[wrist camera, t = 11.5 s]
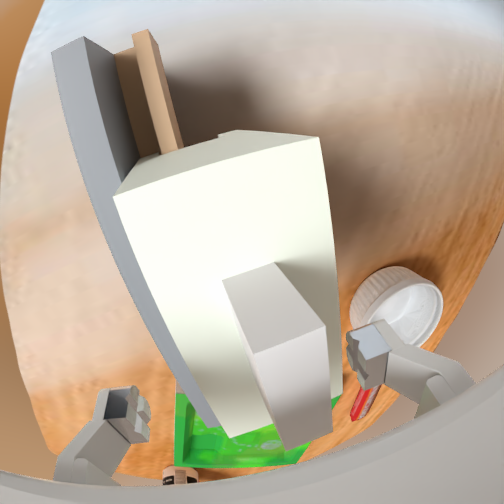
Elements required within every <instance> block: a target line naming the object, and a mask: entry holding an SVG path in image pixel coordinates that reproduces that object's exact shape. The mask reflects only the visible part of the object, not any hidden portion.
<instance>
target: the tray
mask: <svg viewBox="0 0 504 504" xmlns="http://www.w3.org/2000/svg"><path fill="white" fill-rule="evenodd" d="M340 396H341V395H339V396H337V397H335V398H332V399H331V405H332V409H333V408H334V406H335V404H336V403H337V401H338V399H339V398H340ZM310 443H311V442H308V443H306V444H303V445H301V446H299V447H296V448H294V449H291V450H288V451H286V450H285V448H284V446H283V444H282V441H281V439H280V437H279V435H278V432H277V430H276V428H275V426H274V423H273V424H270V425H267V426H265V427H262V428H259V429H256V430H253V431H250V432H247V433H244V434H241V435H238V436H235V437H232V438H229V437H228V435H227V434H226V432H225V430H224V429H223V427H222V426H217V427H212V428H207V426H206V425H205V423H204V422H203V421H202V419H201V418H200V416H199V415H198V413H197V411H196V410H195V408H194V407H193V405H192V404H191V402H190V401H189V399H188V398H187V396H186V394H185V393H184V391H183V390H182V388H181V386H180V385H179V383H178V381H177V380H176V393H175V421H174V466H176V467H195V468H246V467H265V466H277V465H288V464H296V463H297V461H298V460H299V459H300V457H301V456H302V454H303V453H304V452H305V450H306V449H307V447H308V446H309V444H310Z"/></svg>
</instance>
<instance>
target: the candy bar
mask: <svg viewBox="0 0 504 504" xmlns="http://www.w3.org/2000/svg"><path fill="white" fill-rule="evenodd" d="M381 385H382V384H381ZM381 385H379V386H376V387H374V388H371V389H368V390H366V391H364V390H363V388H362V386H361V388H360V391H359V393H358V396H357V398H356V400H355V403H354V405H353V407H352V410H351V413H350V416H351V420H352V422H353V421H356V420H359V419H361V418H363V417H364V416H366V415H367V413H368V412H369V410H370V408H371V406H372V404H373V402H374V400H375V398H376V396H377V394H378V391H379V389H380V387H381Z"/></svg>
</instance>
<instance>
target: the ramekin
mask: <svg viewBox="0 0 504 504" xmlns="http://www.w3.org/2000/svg"><path fill="white" fill-rule="evenodd" d="M442 310H443V297H442V294H441V291H440V290H439V289H438V287H437V286H436V285H435V284H434V283H432V282H431V281H429V280H427V279H424V278H422V277H421V276H419V275H418V274H416V273H415V272H413V271H411V270H409V269H408V268H405V267H402V266H392V267H387V268H384V269H381V270H379V271H377V272H375V273H373V274H372V275H370V276H369V277H368V278H367V279H366V280H364V282H363V283H362V284H361V285H360V286H359V288H358V289H357V291H356V292H355V294H354V297H353V299H352V301H351V305H350V312H349V313H350V321H351V325H352V327H353V330H354V329H356V328H359V327H362V326H364V325H367V324H371V323H373V322H375V321H378V320H380V319H385V320H386V321H387V323H388V324H389V325H390V326H391V328H392V329H393V330H394V332H395V333H396V334H397V335H398V337H399V338H400V339H401V341H402V342H403V343H404V344H405V345H406V344H411V345H413V346H416V347H420V346H421V345H422V344H423V343H424V342H425V341H426V340H427V339H428V338H429V337H430V335H431V334H432V333H433V331H434V330H435V328H436V326H437V324H438V322H439V320H440V317H441V314H442Z"/></svg>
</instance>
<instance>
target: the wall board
mask: <svg viewBox="0 0 504 504" xmlns="http://www.w3.org/2000/svg"><path fill="white" fill-rule="evenodd" d="M132 39H133V43H134V47H133V48H130V49H127V50H125V51H122V52H119V53H117V54H114V55H113V54H112V53H110V52H109V51H107V50H105V49H104V48H102V47H101V46H99V45H97V44H96V43H94V42H92V41H91V40H89V39H87V38H86V37H84V36H83V37H81V38H78V39H76V40H74V41H72V42H70V43H68V44H66V45H64V46H62V47H60V48H58V49H56V50H55V51H53V52H51V55H52V61H53V66H54V72H55V77H56V82H57V86H58V91H59V95H60V100H61V104H62V108H63V112H64V116H65V120H66V124H67V128H68V131H69V135H70V138H71V142H72V145H73V149H74V152H75V155H76V159H77V162H78V165H79V168H80V171H81V174H82V177H83V180H84V183H85V186H86V189H87V192H88V195H89V197H90V200H91V203H92V206H93V208H94V211H95V214H96V216H97V219H98V221H99V224H100V227H101V229H102V232H103V234H104V236H105V239H106V241H107V244H108V246H109V248H110V251H111V253H112V256H113V258H114V260H115V262H116V265H117V267H118V269H119V271H120V274H121V276H122V278H123V280H124V282H125V284H126V286H127V289H128V291H129V293H130V295H131V297H132V299H133V301H134V303H135V305H136V307H137V309H138V311H139V313H140V315H141V317H142V319H143V321H144V323H145V325H146V327H147V329H148V330H149V332H150V334H151V336H152V338H153V340H154V342H155V343H156V345H157V347H158V349H159V351H160V352H161V354H162V356H163V358H164V359H165V361H166V363H167V365H168V366H169V368H170V370H171V371H172V373H173V375H174V376H175V378H176V380H177V381H178V383H179V385H180V386H181V388H182V390H183V391H184V393H185V394H186V396H187V398H188V399H189V401H190V402H191V404H192V405H193V407H194V408H195V410H196V411H197V413H198V415H199V416H200V418H201V419H202V421H203V422H204V423H205V425H206V426H207V428H212V427H217V426H221V424H220V422H219V421H218V419H217V417H216V416H215V414H214V412H213V411H212V409H211V407H210V406H209V404H208V402H207V401H206V399H205V397H204V395H203V394H202V392H201V390H200V388H199V387H198V385H197V383H196V381H195V379H194V378H193V376H192V374H191V372H190V370H189V368H188V367H187V365H186V363H185V361H184V359H183V357H182V355H181V353H180V351H179V349H178V347H177V346H176V344H175V342H174V340H173V338H172V336H171V334H170V332H169V330H168V328H167V326H166V323H165V321H164V319H163V317H162V315H161V313H160V311H159V309H158V307H157V304H156V302H155V300H154V298H153V296H152V294H151V291H150V289H149V287H148V285H147V282H146V280H145V278H144V276H143V273H142V271H141V269H140V266H139V264H138V261H137V259H136V257H135V254H134V252H133V249H132V247H131V244H130V242H129V239H128V237H127V234H126V232H125V229H124V226H123V224H122V221H121V218H120V216H119V213H118V210H117V207H116V205H115V202H114V199H113V196H114V194H115V193H116V191H117V190H118V188H119V187H120V185H121V184H122V182H123V181H124V180H125V178H126V177H127V175H128V174H129V172H130V171H131V170H132V168H133V167H134V166H135V164H136V163H137V161H138V160H139V159H140V158H143V157H146V156H149V155H152V154H155V153H158V152H159V154H160V155H163V154H166V153H169V152H172V151H175V150H178V149H182V148H184V145H183V141H182V138H181V134H180V130H179V126H178V123H177V119H176V115H175V111H174V107H173V104H172V100H171V96H170V92H169V88H168V84H167V80H166V76H165V72H164V68H163V64H162V60H161V55H160V51H159V47H158V44H157V42H156V41H155V39H154V38H153V36H152V35H151V33H150V32H149V30H148V29H146V30H143V31H140V32H137V33H135V34H132Z"/></svg>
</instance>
